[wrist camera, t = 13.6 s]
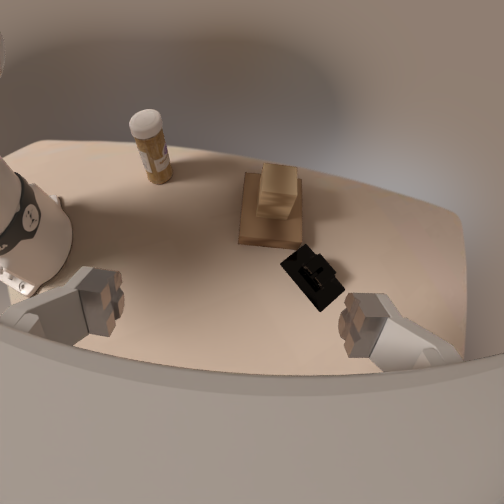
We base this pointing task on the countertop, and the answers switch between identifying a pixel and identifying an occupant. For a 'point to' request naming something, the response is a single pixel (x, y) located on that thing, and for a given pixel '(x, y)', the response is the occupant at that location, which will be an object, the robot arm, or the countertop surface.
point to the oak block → (276, 191)
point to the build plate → (313, 276)
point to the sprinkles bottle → (151, 145)
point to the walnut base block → (269, 220)
